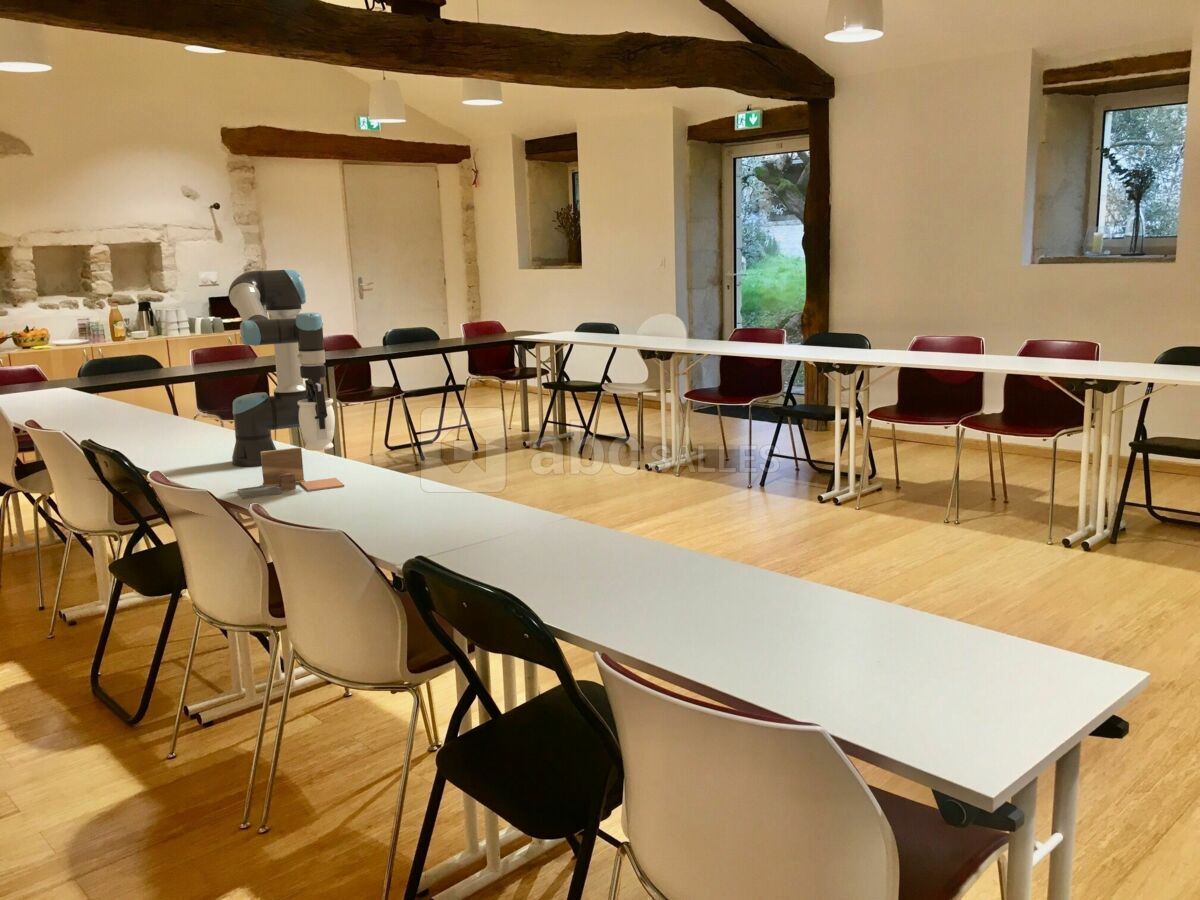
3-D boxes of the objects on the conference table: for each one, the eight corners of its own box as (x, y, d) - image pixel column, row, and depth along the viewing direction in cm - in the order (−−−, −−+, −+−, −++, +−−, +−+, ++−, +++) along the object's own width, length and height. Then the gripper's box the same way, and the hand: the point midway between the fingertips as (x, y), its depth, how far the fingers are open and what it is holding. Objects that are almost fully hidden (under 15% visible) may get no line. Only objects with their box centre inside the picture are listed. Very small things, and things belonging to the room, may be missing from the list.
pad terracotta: (300, 484, 311) (300, 482, 311) (335, 479, 316) (335, 477, 316) (308, 491, 301) (308, 489, 301) (344, 486, 306) (344, 484, 306)
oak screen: (262, 485, 310) (259, 450, 308) (301, 480, 316) (299, 446, 314) (265, 488, 306) (262, 453, 304) (305, 483, 312) (302, 449, 309)
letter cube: (280, 487, 307) (278, 473, 306) (293, 486, 308) (292, 472, 307) (282, 490, 303) (281, 476, 302) (295, 488, 305) (294, 474, 304)
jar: (341, 444, 311) (337, 397, 308) (330, 451, 300) (326, 402, 297) (308, 445, 311) (304, 397, 308) (296, 451, 301) (291, 402, 298)
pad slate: (237, 491, 304) (237, 489, 304) (274, 486, 309) (274, 484, 309) (243, 498, 294) (243, 496, 294) (281, 493, 299) (281, 491, 299)
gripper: (292, 361, 309) (298, 431, 313) (308, 369, 289) (314, 444, 294) (316, 360, 312) (322, 429, 317) (334, 367, 293) (339, 441, 297)
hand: (318, 436), depth 305 cm, fingers closed on jar, 10 cm apart
